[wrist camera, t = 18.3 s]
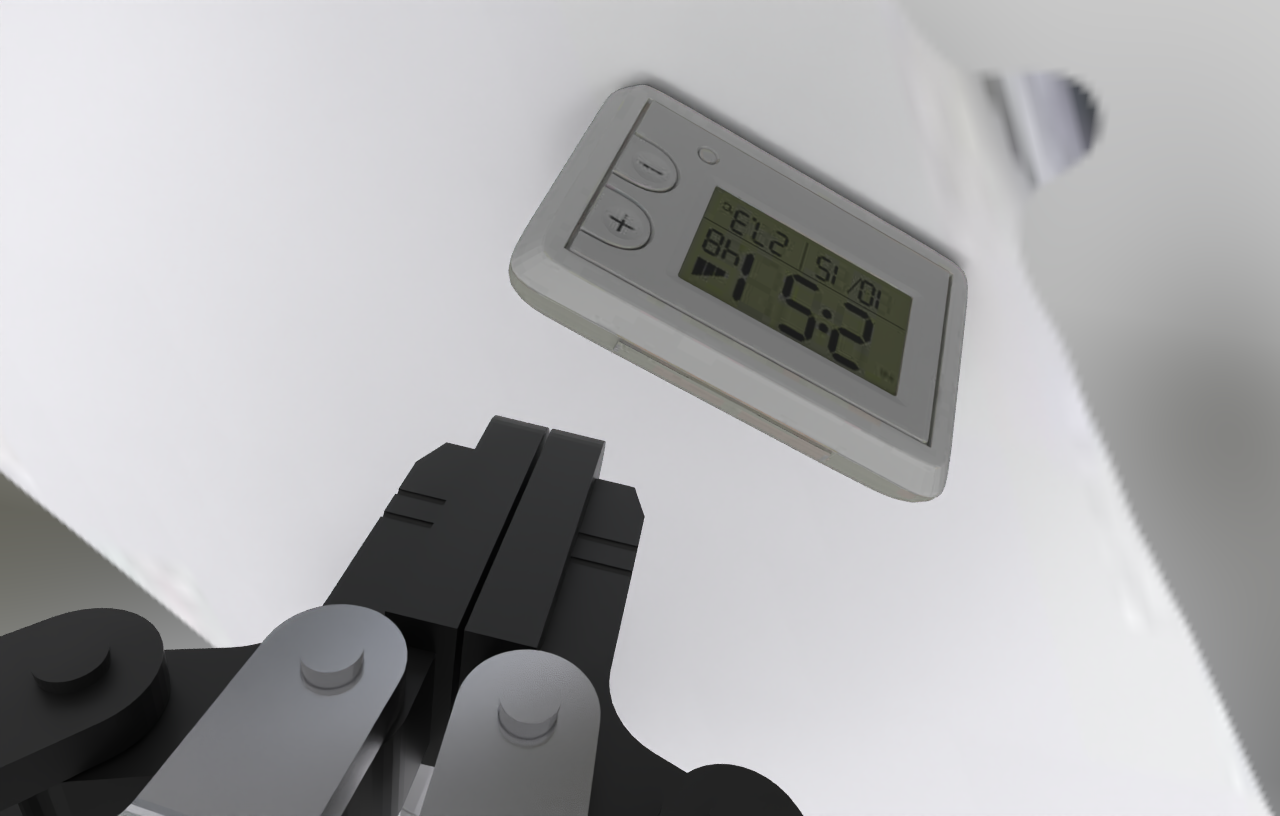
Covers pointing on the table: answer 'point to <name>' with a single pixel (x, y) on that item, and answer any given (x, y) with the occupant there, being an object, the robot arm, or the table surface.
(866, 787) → the table surface
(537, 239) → the digital clock
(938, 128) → the table surface
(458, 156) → the table surface
